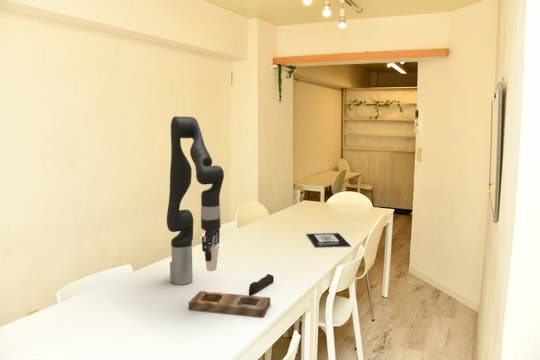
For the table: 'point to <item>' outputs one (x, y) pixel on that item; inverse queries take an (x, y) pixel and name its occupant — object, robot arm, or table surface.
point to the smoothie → (213, 258)
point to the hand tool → (260, 284)
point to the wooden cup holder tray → (230, 303)
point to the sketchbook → (327, 240)
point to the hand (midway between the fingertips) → (211, 258)
